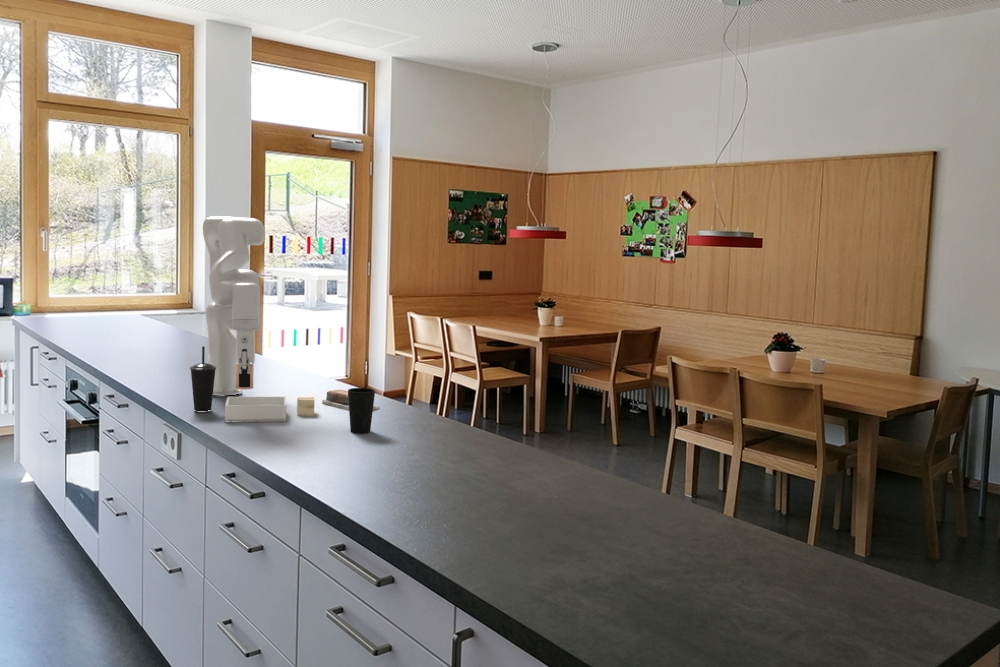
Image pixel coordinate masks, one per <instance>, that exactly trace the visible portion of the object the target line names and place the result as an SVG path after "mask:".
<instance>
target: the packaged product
mask: <svg viewBox="0 0 1000 667" xmlns="http://www.w3.org/2000/svg"><path fill="white" fill-rule="evenodd" d="M325 398H326V399H323V400H322V402H321V404H323V405H325V406H329V407H334V408H337V409H341V410H345V411H348V412H349V401H348V390H344V389H333V390H328V391H327V392H326V396H325ZM380 408H381V407H380V405H377V404H374V405H373V411H374V410H379V409H380Z"/></svg>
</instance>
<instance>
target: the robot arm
mask: <svg viewBox="0 0 1000 667" xmlns="http://www.w3.org/2000/svg"><path fill="white" fill-rule="evenodd" d="M202 236H203V240H204V243H205V245H206V247H207V250H208V255H209V290H210V297H211V300H212V302H211V303H209V304H208V305H207V307H206V308H205V320H206V326H207V335H208V339H207V340H208V342H207V343H208V344H207V345H208V347H207V350H208V357H207V358H208V359H207V360H208V363H207V364H211V365H213V366H215V367H216V370H215V379H214V388H213V395H235V396H237V395H236V394H239V395H241V394H243V389H236V364H240V374H239V387H250V374H249V368H250V364H253V365H254V364H255V363H256V331H259V330H260V329H259V326H260V320H261V301H260V300H261V294H262V293H261V287H260V280H259V279H260V278H259V276H258V273H257V272H256V271H254V270H252V269H241V268H243V267H244V266H246V265H247V264H248V263H249V262H250V257H251V256H250V255H251V254H250V250H249V246H262V245H263V244H264V242H265V238H266V231H265V227H264V223H263V222H262V221H261V220H260V219H257V218H254V217H242V216H241V217H237V216H224V215H223V216H222V215H221V216H220V215H217V216H216V215H215V216H207V217H206V218H205V219H204V220H203V223H202ZM231 330H232V331H235V333H236V336H235V335H233V334H232V332H231ZM247 369H248V372H247Z"/></svg>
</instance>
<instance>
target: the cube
mask: <svg viewBox="0 0 1000 667" xmlns="http://www.w3.org/2000/svg"><path fill="white" fill-rule="evenodd" d="M296 399H297V400H296V415H297V417H298V416H300V417H301V416H303V417H304V416H315V397H314V396H297V397H296Z"/></svg>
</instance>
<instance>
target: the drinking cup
mask: <svg viewBox="0 0 1000 667" xmlns="http://www.w3.org/2000/svg"><path fill="white" fill-rule="evenodd" d="M205 354H206V353H205V345H204V346H202V348H201V362H200V363H197V364H194V365H192V366H190V367H189V370H190V375H191V376H190V378H191V388H192V397H193V398H192V400H193V410H196V411H208V410H211V411H212V407H213V406H212V405H213V398H214V396H213V388H214V379H215V370H216V367H215V366H213V365H211V364H208V363H206V362H205Z"/></svg>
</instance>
